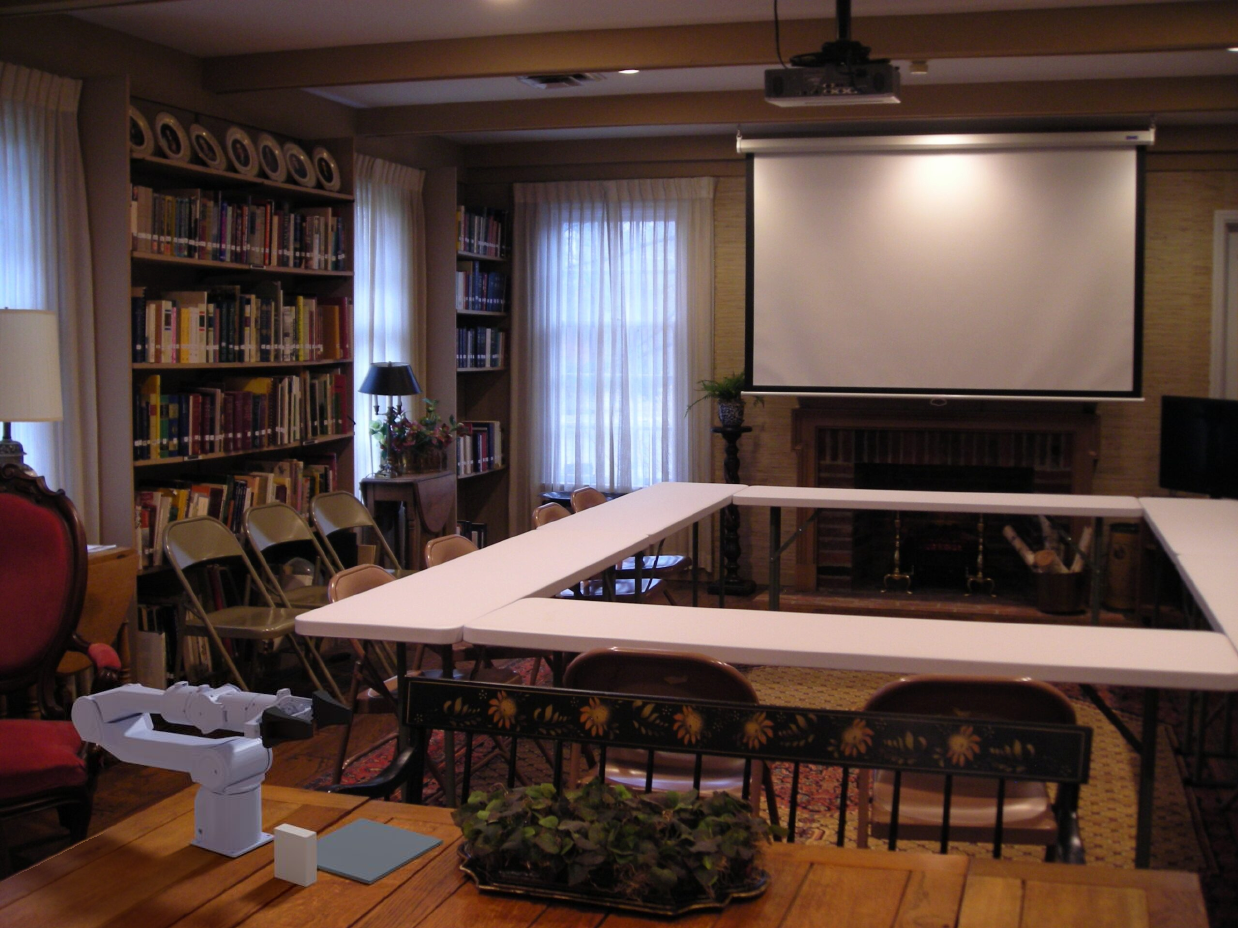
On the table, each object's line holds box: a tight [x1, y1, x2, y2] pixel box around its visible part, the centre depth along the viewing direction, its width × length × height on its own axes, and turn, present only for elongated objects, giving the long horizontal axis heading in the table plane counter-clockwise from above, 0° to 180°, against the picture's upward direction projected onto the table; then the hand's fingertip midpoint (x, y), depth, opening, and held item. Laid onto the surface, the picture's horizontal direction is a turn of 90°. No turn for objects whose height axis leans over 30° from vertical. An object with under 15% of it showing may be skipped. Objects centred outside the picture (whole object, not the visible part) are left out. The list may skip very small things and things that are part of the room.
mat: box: [316, 817, 444, 885], centre depth 171 cm, size 16×16×1 cm
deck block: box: [273, 823, 318, 888], centre depth 161 cm, size 6×2×7 cm, turn 60°
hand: (331, 723), depth 161 cm, fingers open, 7 cm apart
